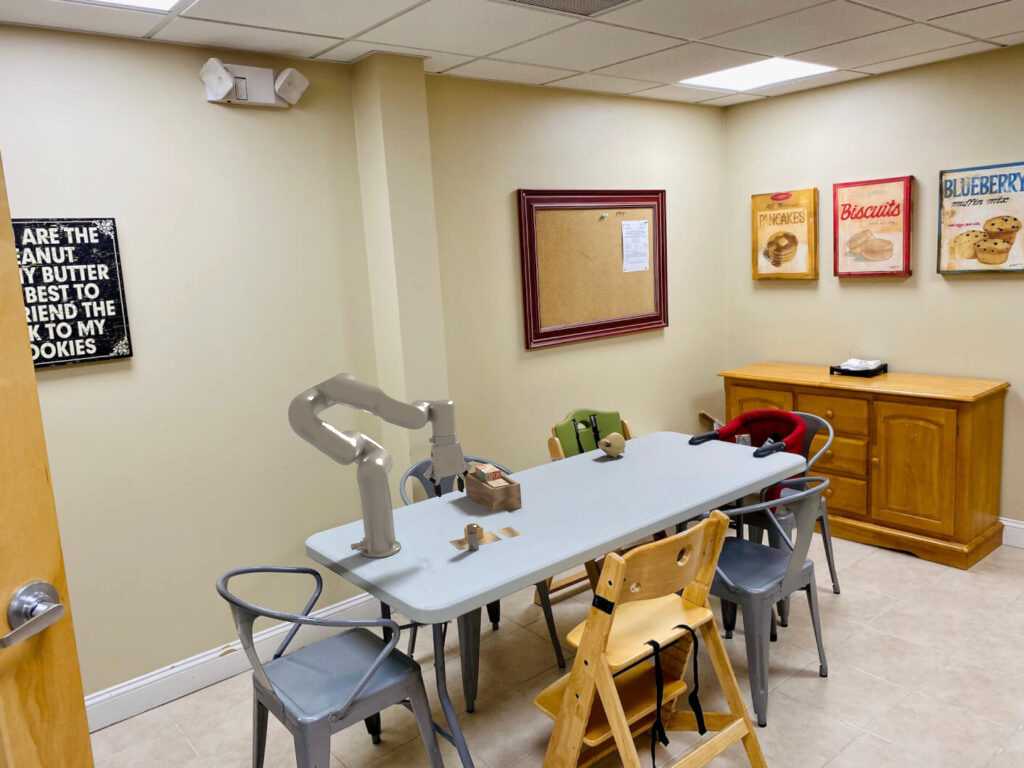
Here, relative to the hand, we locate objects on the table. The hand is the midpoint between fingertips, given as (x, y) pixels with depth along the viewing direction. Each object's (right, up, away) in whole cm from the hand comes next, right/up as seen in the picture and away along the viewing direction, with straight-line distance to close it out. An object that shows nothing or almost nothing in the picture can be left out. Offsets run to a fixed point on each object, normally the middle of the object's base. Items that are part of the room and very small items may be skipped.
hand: (449, 493), depth 241 cm
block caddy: (+13, -9, +45) cm, 47 cm away
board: (+11, -16, +5) cm, 21 cm away
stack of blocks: (+13, -10, +45) cm, 47 cm away
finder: (+7, -15, +6) cm, 18 cm away
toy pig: (+64, +2, +94) cm, 114 cm away
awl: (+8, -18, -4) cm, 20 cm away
